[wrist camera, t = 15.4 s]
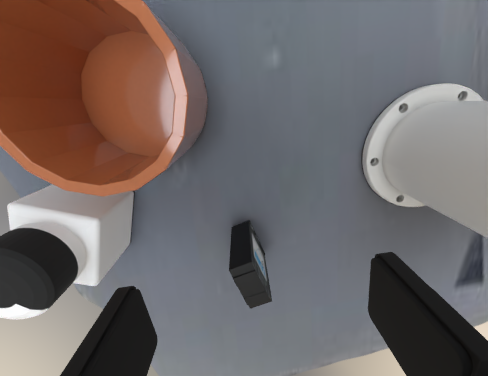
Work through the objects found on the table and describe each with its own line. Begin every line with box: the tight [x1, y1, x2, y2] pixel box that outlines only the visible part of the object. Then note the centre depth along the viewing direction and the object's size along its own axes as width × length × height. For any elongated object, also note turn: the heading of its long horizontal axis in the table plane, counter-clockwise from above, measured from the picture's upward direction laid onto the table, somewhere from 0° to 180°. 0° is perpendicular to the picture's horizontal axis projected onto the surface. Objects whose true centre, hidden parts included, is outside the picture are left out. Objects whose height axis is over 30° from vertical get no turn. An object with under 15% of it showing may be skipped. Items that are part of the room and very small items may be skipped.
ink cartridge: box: [229, 221, 272, 308], centre depth 24 cm, size 5×2×8 cm, turn 23°
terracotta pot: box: [0, 0, 208, 197], centre depth 18 cm, size 12×12×10 cm
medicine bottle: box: [0, 185, 134, 319], centre depth 21 cm, size 7×7×12 cm
